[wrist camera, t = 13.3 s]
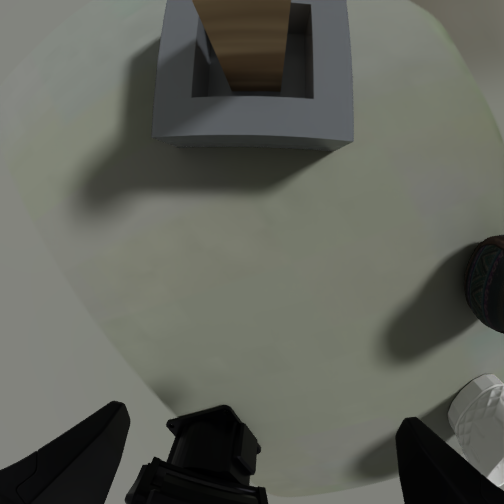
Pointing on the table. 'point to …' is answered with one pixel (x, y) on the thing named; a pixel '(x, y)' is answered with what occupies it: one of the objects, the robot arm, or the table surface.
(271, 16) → the tall wooden pillar block
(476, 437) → the white cup
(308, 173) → the table surface
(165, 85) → the grey square socket holder
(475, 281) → the mate gourd
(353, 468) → the table surface
